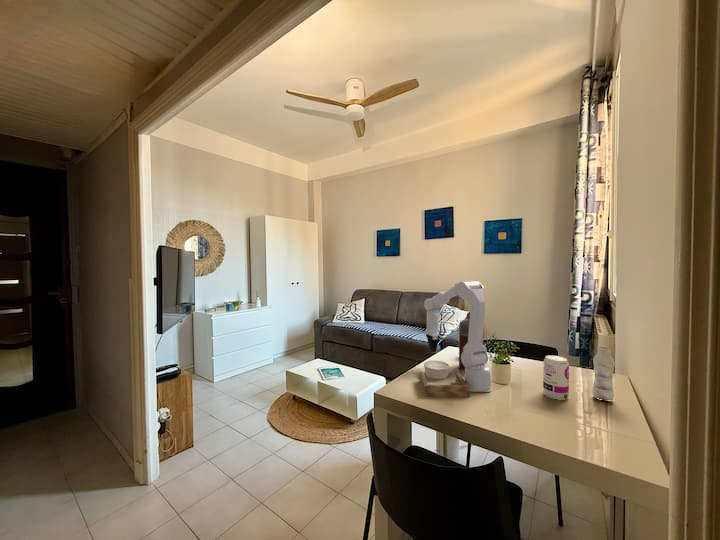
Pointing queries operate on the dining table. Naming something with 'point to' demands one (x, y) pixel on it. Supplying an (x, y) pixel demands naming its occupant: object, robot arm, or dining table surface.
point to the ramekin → (436, 369)
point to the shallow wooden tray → (445, 388)
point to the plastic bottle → (603, 374)
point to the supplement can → (556, 377)
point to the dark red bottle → (463, 338)
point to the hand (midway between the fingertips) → (432, 350)
